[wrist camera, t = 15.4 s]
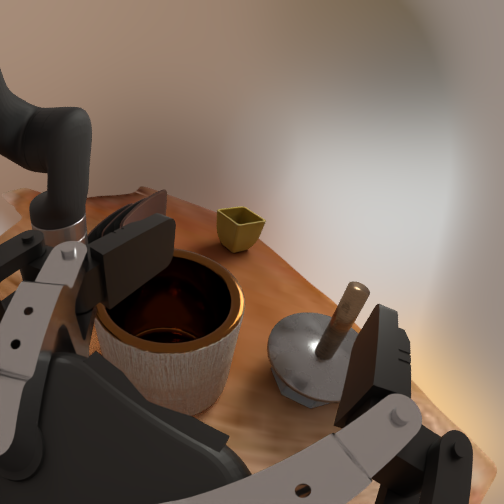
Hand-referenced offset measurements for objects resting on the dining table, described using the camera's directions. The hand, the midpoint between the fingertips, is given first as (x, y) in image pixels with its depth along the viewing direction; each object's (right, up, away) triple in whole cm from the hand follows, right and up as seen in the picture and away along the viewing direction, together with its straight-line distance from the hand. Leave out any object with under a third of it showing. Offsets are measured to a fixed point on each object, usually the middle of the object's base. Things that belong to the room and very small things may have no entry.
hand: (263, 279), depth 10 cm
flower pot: (-5, +2, +62) cm, 62 cm away
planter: (-13, -16, +28) cm, 35 cm away
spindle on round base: (+10, -14, +29) cm, 34 cm away
